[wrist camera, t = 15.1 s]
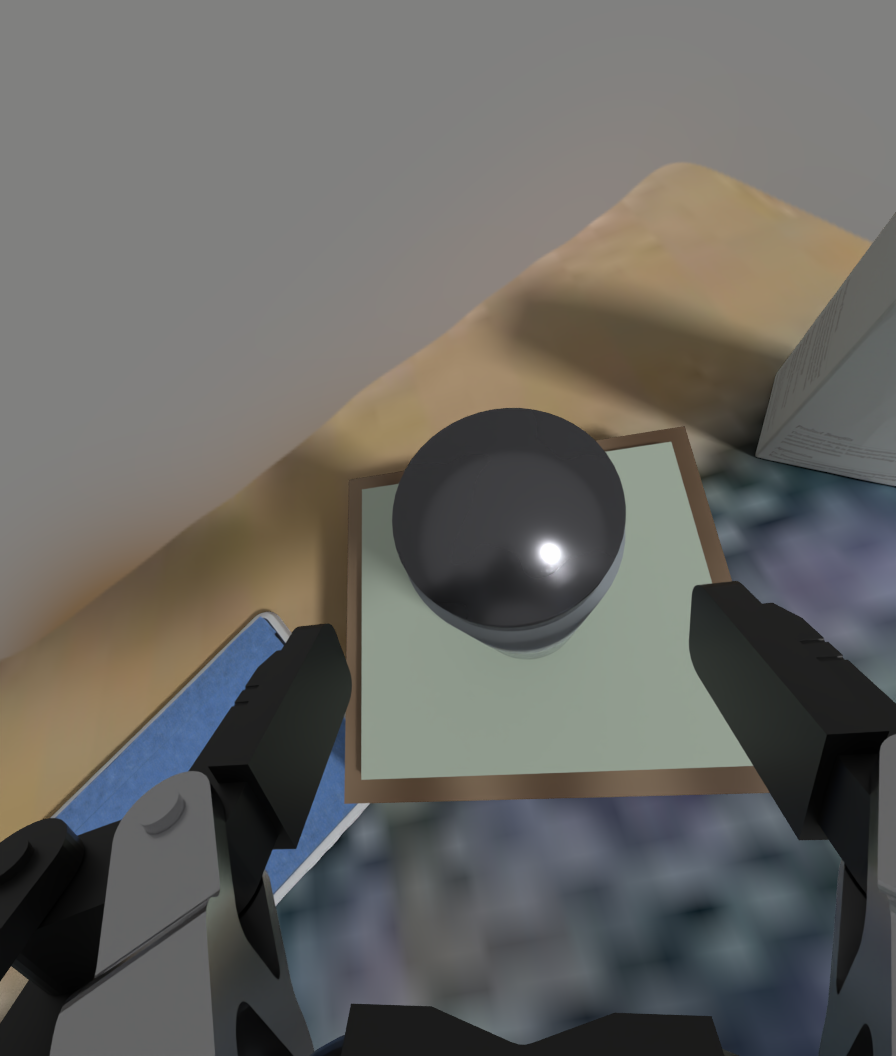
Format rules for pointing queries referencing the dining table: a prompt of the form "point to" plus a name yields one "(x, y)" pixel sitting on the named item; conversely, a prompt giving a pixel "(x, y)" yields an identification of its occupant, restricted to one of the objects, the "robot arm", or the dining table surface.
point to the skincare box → (843, 379)
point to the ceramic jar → (511, 528)
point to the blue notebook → (185, 734)
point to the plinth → (543, 666)
